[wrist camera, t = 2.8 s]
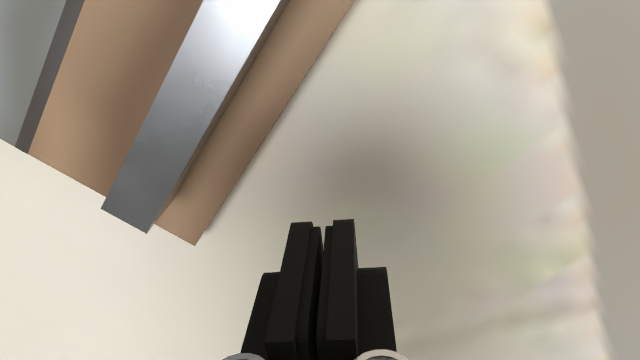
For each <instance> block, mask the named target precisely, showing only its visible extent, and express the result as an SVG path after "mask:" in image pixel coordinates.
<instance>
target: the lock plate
mask: <svg viewBox="0 0 640 360" xmlns="http://www.w3.org/2000/svg"><path fill="white" fill-rule="evenodd" d="M353 1H354V0H290V1H289V2H288V4H287V6H286V8H285V9H284V11H283V13H282V15H281V16H280V18H279V20H278V21H277V23H276V25H275V27H274V28H273V30H272V32H271V33H270V35H269V37H268V39H267V40H266V42H265V44H264V45H263V47H262V49H261V51H260V52H259V54H258V56H257V57H256V59H255V61H254V63H253V64H252V66H251V68H250V70H249V71H248V73H247V75H246V76H245V78H244V80H243V82H242V83H241V85H240V87H239V88H238V90H237V92H236V94H235V95H234V97H233V99H232V100H231V102H230V104H229V106H228V107H227V109H226V111H225V112H224V114H223V116H222V118H221V119H220V121H219V123H218V125H217V126H216V128H215V130H214V131H213V133H212V135H211V137H210V138H209V140H208V142H207V143H206V145H205V147H204V149H203V150H202V152H201V154H200V155H199V157H198V159H197V161H196V162H195V164H194V166H193V167H192V169H191V171H190V173H189V174H188V176H187V178H186V180H185V181H184V183H183V185H182V186H181V188H180V190H179V192H178V193H177V195H176V197H175V198H174V200H173V201H172V202H171V204H170V205H169V206H168V207H167V209H166V210H165V211H164V212H163V214H162V215H161V216H160V217H159V219H158V220H157V221H156V223H155V224H156V225H158V226H159V227H161V228H163V229H165V230H167V231H169V232H170V233H172V234H174V235H176V236H178V237H179V238H181V239H183V240H185V241H187V242H188V243H190V244H192V245H194V246H195V245H196V243H197V242H198V240H199V239H200V237H201V236H202V234H203V233H204V231H205V229H206V228H207V226H208V225H209V223H210V222H211V220H212V219H213V217H214V216H215V214H216V212H217V211H218V209H219V208H220V206H221V205H222V203H223V202H224V200H225V199H226V197H227V195H228V194H229V192H230V191H231V189H232V188H233V186H234V185H235V183H236V182H237V180H238V179H239V177H240V175H241V174H242V172H243V171H244V169H245V168H246V166H247V165H248V163H249V162H250V160H251V158H252V157H253V155H254V154H255V152H256V151H257V149H258V148H259V146H260V145H261V143H262V141H263V140H264V138H265V137H266V135H267V134H268V132H269V131H270V129H271V128H272V126H273V124H274V123H275V121H276V120H277V118H278V117H279V115H280V114H281V112H282V111H283V109H284V107H285V106H286V104H287V103H288V101H289V100H290V98H291V97H292V95H293V94H294V92H295V91H296V89H297V87H298V86H299V84H300V83H301V81H302V80H303V78H304V77H305V75H306V74H307V72H308V70H309V69H310V67H311V66H312V64H313V63H314V61H315V60H316V58H317V57H318V55H319V53H320V52H321V50H322V49H323V47H324V46H325V44H326V43H327V41H328V40H329V38H330V36H331V35H332V33H333V32H334V30H335V29H336V27H337V26H338V24H339V23H340V21H341V19H342V18H343V16H344V15H345V13H346V12H347V10H348V9H349V7H350V6H351V4H352V2H353ZM202 2H203V0H0V139H2V140H4V141H6V142H7V143H9V144H11V145H13V146H15V147H16V148H18V149H19V150H21V151H23V152H25V153H27V154H29V155H31V156H33V157H35V158H36V159H38V160H40V161H42V162H44V163H45V164H47V165H49V166H51V167H53V168H54V169H56V170H58V171H60V172H62V173H64V174H65V175H67V176H69V177H71V178H73V179H74V180H76V181H78V182H80V183H82V184H83V185H85V186H87V187H89V188H91V189H92V190H94V191H96V192H98V193H100V194H102V195H103V196H105V197H107V195H108V193H109V191H110V189H111V187H112V185H113V183H114V181H115V179H116V177H117V175H118V173H119V171H120V169H121V167H122V165H123V163H124V161H125V159H126V157H127V154H128V152H129V150H130V148H131V146H132V144H133V142H134V140H135V138H136V136H137V134H138V132H139V130H140V128H141V126H142V124H143V122H144V120H145V118H146V116H147V114H148V112H149V110H150V108H151V106H152V104H153V102H154V100H155V98H156V96H157V94H158V92H159V90H160V88H161V86H162V84H163V82H164V79H165V77H166V75H167V73H168V71H169V69H170V67H171V65H172V63H173V61H174V59H175V57H176V55H177V53H178V51H179V49H180V47H181V45H182V43H183V41H184V39H185V37H186V35H187V33H188V31H189V29H190V27H191V25H192V23H193V21H194V19H195V17H196V15H197V13H198V11H199V9H200V7H201V4H202Z"/></svg>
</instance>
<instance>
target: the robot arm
mask: <svg viewBox="0 0 640 360" xmlns="http://www.w3.org/2000/svg"><path fill="white" fill-rule="evenodd" d="M223 360H409V359H408V358H407V357H405V356H403V355H402V354H400V353H398V352H397V351H396V343H395V335H394V326H393V318H392V310H391V302H390V293H389V285H388V277H387V269H386V267H376V268H358V259H357V248H356V236H355V225H354V219H347V220H334V221H333V226H326V229H325V240H324V250H323V243H322V235H321V229H320V227H313V223H312V222H298V223H291V226H290V230H289V234H288V239H287V243H286V248H285V252H284V257H283V261H282V266H281V270H280V272H272V273H264V274H263V275H262V278H261V281H260V285H259V288H258V292H257V295H256V299H255V302H254V306H253V310H252V313H251V317H250V320H249V324H248V327H247V331H246V335H245V338H244V342H243V345H242V349H241V353H239V354H235V355H232V356H228V357H227V358H225V359H223Z"/></svg>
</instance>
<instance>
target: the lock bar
mask: <svg viewBox="0 0 640 360" xmlns="http://www.w3.org/2000/svg"><path fill="white" fill-rule="evenodd" d="M289 1H290V0H203V2H202V4H201V7H200V9H199V11H198V13H197V15H196V17H195V19H194V21H193V23H192V25H191V27H190V29H189V31H188V33H187V35H186V37H185V39H184V41H183V43H182V45H181V47H180V49H179V51H178V53H177V55H176V57H175V59H174V61H173V63H172V65H171V67H170V69H169V71H168V73H167V75H166V77H165V79H164V82H163V84H162V86H161V88H160V90H159V92H158V94H157V96H156V98H155V100H154V102H153V104H152V106H151V108H150V110H149V112H148V114H147V116H146V118H145V120H144V122H143V124H142V126H141V128H140V130H139V132H138V134H137V136H136V138H135V140H134V142H133V144H132V146H131V148H130V150H129V152H128V154H127V157H126V159H125V161H124V163H123V165H122V167H121V169H120V171H119V173H118V175H117V177H116V179H115V181H114V183H113V185H112V187H111V189H110V191H109V193H108V195H107V197H106V199H105V201H104V203H103V205H102V207H101V209H102V210H104V211H106V212H108V213H110V214H112V215H113V216H115V217H117V218H119V219H121V220H123V221H124V222H126V223H128V224H130V225H132V226H134V227H135V228H137V229H139V230H141V231H143V232H145V233H146V234H147V233H148V231H149V230H150V229H151V228H152V226H153V225H154V224H155V223H156V221H157V220H158V219H159V217H160V216H161V215H162V214H163V212H164V211H165V210H166V209H167V207H168V206H169V205H170V204H171V202H172V201H173V200H174V198H175V197H176V195H177V193H178V192H179V190H180V188H181V186H182V185H183V183H184V181H185V180H186V178H187V176H188V174H189V173H190V171H191V169H192V167H193V166H194V164H195V162H196V161H197V159H198V157H199V155H200V154H201V152H202V150H203V149H204V147H205V145H206V143H207V142H208V140H209V138H210V137H211V135H212V133H213V131H214V130H215V128H216V126H217V125H218V123H219V121H220V119H221V118H222V116H223V114H224V112H225V111H226V109H227V107H228V106H229V104H230V102H231V100H232V99H233V97H234V95H235V94H236V92H237V90H238V88H239V87H240V85H241V83H242V82H243V80H244V78H245V76H246V75H247V73H248V71H249V70H250V68H251V66H252V64H253V63H254V61H255V59H256V57H257V56H258V54H259V52H260V51H261V49H262V47H263V45H264V44H265V42H266V40H267V39H268V37H269V35H270V33H271V32H272V30H273V28H274V27H275V25H276V23H277V21H278V20H279V18H280V16H281V15H282V13H283V11H284V9H285V8H286V6H287V4H288V2H289Z"/></svg>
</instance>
